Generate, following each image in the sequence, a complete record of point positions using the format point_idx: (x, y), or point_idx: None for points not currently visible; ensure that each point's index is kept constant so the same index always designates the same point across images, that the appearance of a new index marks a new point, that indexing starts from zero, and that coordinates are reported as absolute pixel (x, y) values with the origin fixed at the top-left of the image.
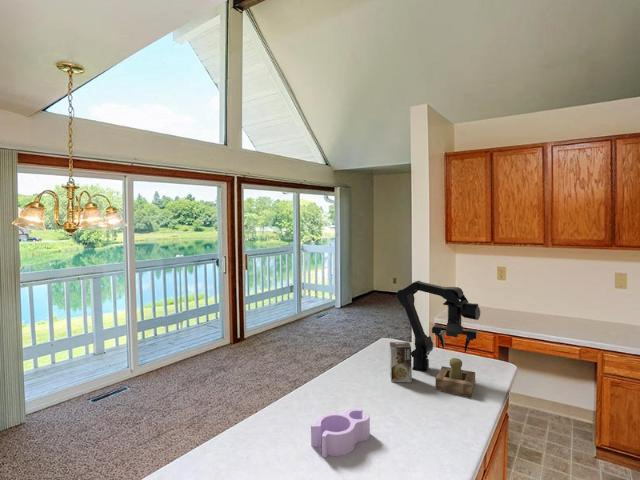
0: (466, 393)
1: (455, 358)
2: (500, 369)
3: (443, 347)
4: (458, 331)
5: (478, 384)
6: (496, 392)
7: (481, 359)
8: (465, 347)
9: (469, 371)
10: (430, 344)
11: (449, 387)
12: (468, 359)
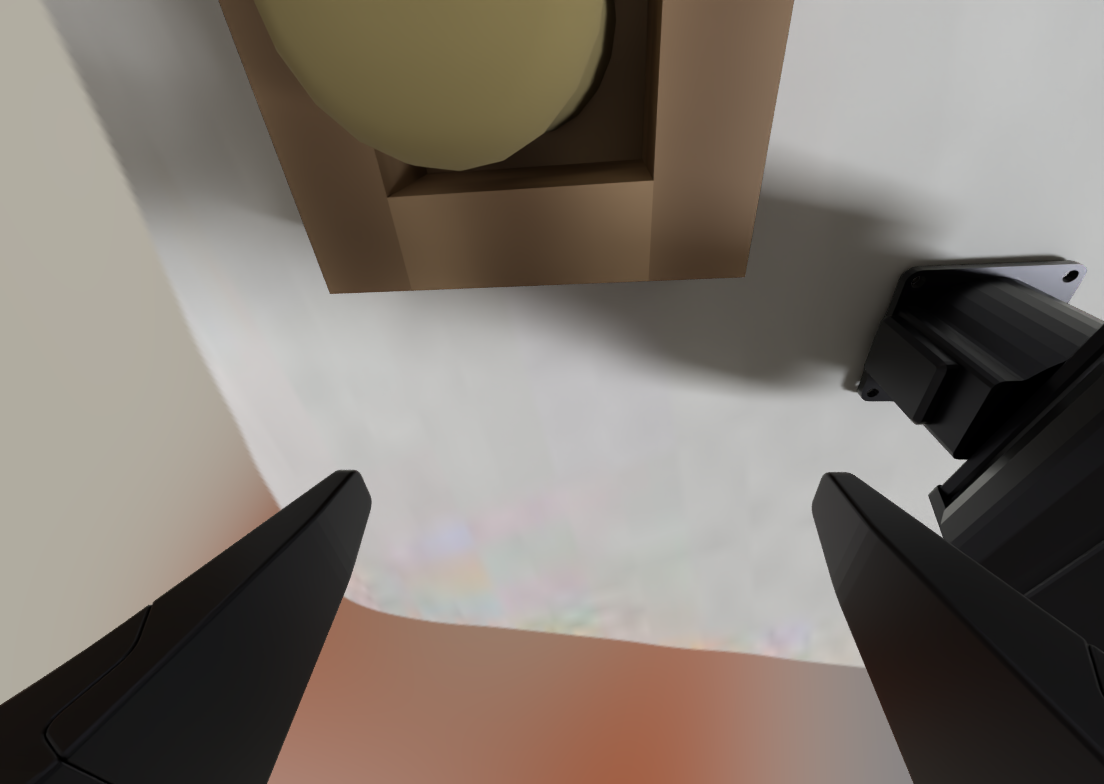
0: None
1: (424, 21)
2: None
3: (852, 490)
4: None
5: None
6: (145, 140)
7: (494, 612)
8: (260, 551)
9: (390, 280)
10: (1099, 589)
11: None
12: (562, 594)
